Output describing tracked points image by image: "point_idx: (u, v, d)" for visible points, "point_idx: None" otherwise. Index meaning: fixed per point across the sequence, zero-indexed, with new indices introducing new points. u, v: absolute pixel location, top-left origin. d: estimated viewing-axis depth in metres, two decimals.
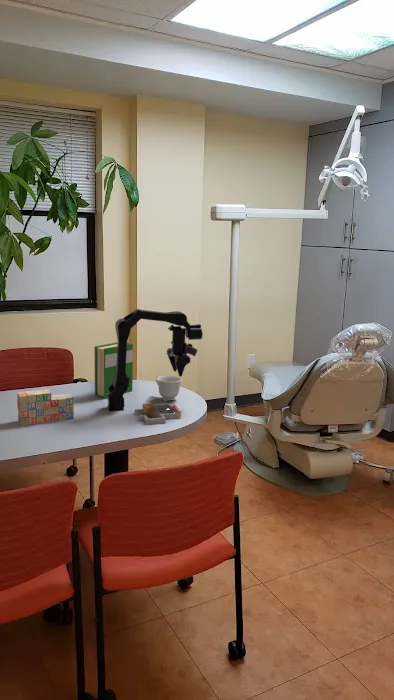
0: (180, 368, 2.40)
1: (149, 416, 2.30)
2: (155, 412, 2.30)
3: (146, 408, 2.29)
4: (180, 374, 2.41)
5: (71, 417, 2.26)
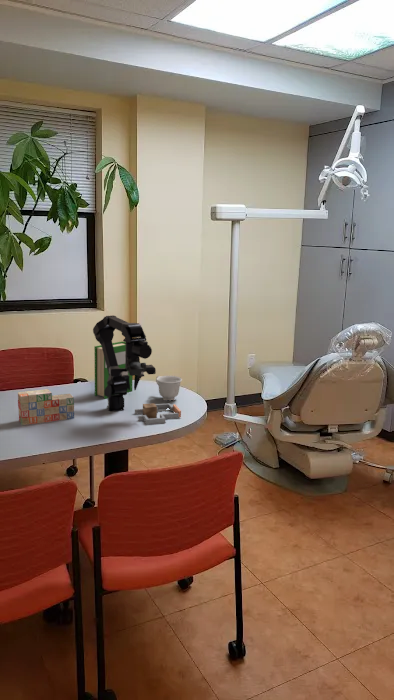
0: (126, 381, 2.27)
1: (149, 416, 2.30)
2: (155, 412, 2.30)
3: (146, 408, 2.29)
4: (128, 387, 2.27)
5: (72, 417, 2.26)
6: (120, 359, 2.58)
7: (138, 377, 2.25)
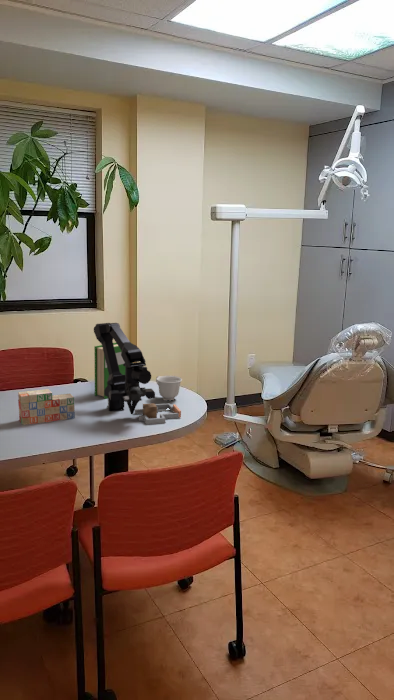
0: (128, 405, 2.29)
1: (149, 416, 2.30)
2: (155, 412, 2.30)
3: (146, 408, 2.29)
4: (130, 411, 2.30)
5: (72, 417, 2.26)
6: (120, 359, 2.58)
7: (135, 401, 2.27)
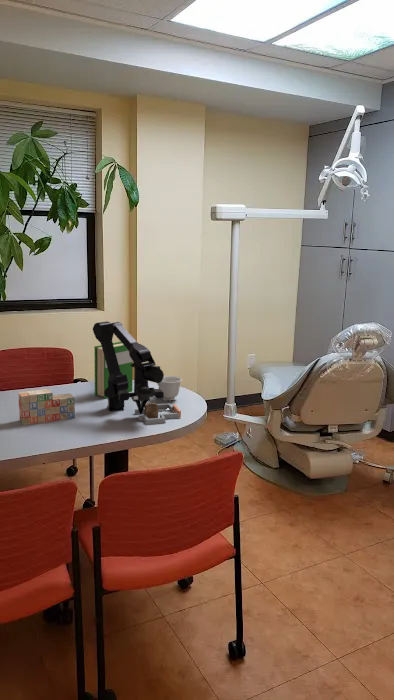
0: (137, 405, 2.30)
1: (150, 416, 2.30)
2: (156, 412, 2.30)
3: (147, 408, 2.29)
4: (139, 411, 2.31)
5: (72, 417, 2.27)
6: (120, 359, 2.58)
7: (144, 401, 2.28)
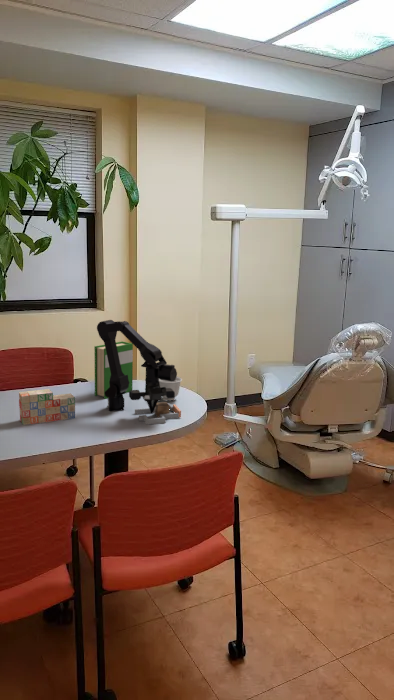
0: (148, 404, 2.32)
1: None
2: (168, 411, 2.32)
3: (159, 407, 2.30)
4: (150, 410, 2.32)
5: (73, 417, 2.27)
6: (120, 359, 2.58)
7: (155, 401, 2.30)
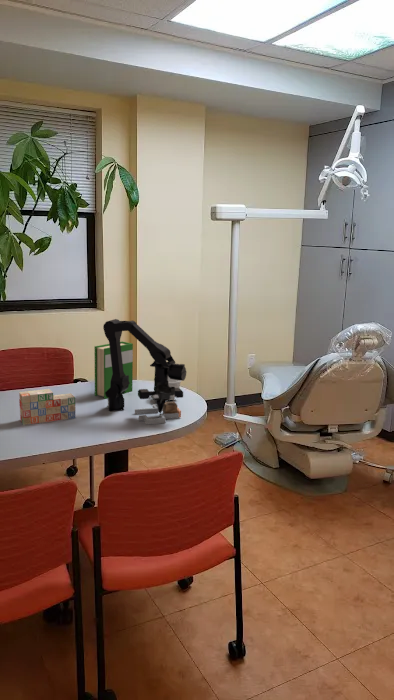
0: (157, 403, 2.33)
1: None
2: (175, 410, 2.33)
3: (167, 406, 2.31)
4: None
5: (73, 417, 2.27)
6: None
7: (164, 400, 2.31)
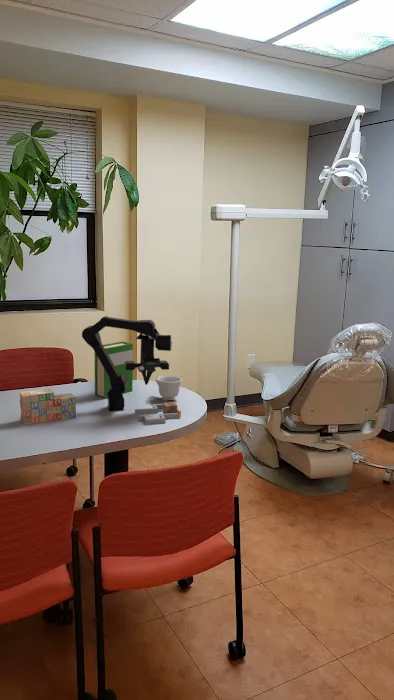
0: (143, 375, 2.37)
1: None
2: (175, 411, 2.33)
3: (167, 407, 2.31)
4: None
5: (73, 416, 2.27)
6: (120, 359, 2.58)
7: (150, 372, 2.35)
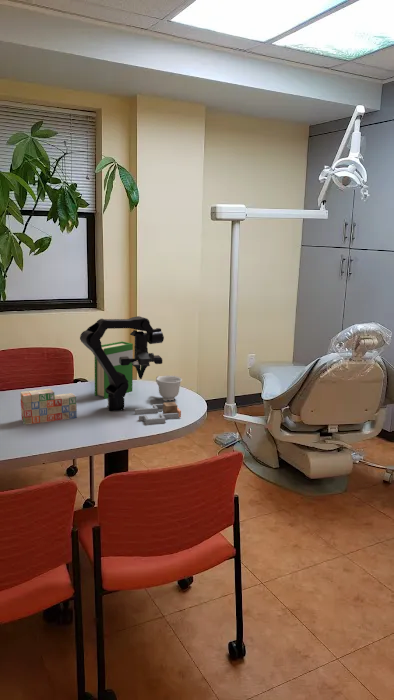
0: (137, 370, 2.45)
1: None
2: (175, 411, 2.33)
3: (167, 407, 2.31)
4: (139, 376, 2.45)
5: (74, 416, 2.27)
6: None
7: (144, 367, 2.43)
